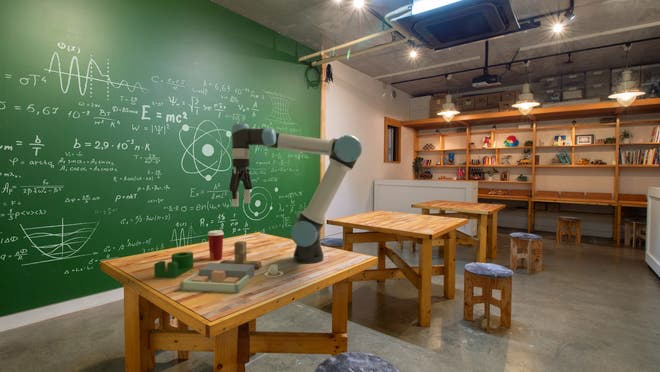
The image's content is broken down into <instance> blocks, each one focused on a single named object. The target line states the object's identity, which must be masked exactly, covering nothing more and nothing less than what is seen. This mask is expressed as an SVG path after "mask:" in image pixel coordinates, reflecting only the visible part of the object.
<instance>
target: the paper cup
mask: <svg viewBox="0 0 660 372" xmlns="http://www.w3.org/2000/svg"><path fill="white" fill-rule="evenodd" d="M224 234H225V233H224V231H223V230H221V229H220V230H218V229H214V230H210V231H208V232H207V234H206V235H207V236H208V237H207V238H208V250H209V258H210V259H209V260H210V261H212V262H214V261H215V262H216V261H222V259H223V246H224V245H223V243H224Z"/></svg>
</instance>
